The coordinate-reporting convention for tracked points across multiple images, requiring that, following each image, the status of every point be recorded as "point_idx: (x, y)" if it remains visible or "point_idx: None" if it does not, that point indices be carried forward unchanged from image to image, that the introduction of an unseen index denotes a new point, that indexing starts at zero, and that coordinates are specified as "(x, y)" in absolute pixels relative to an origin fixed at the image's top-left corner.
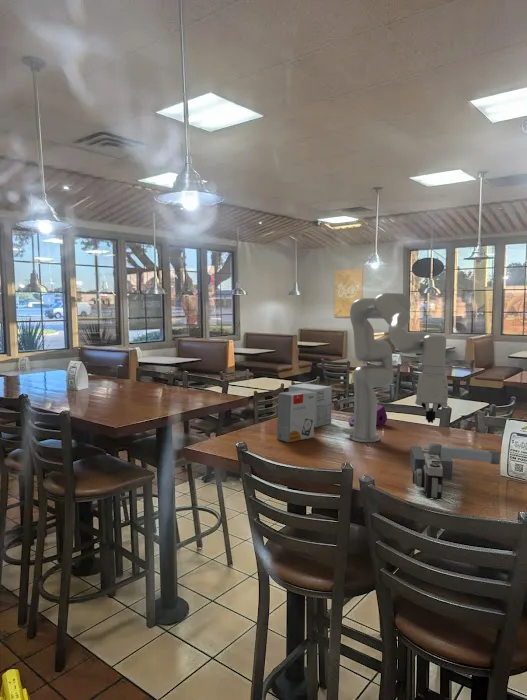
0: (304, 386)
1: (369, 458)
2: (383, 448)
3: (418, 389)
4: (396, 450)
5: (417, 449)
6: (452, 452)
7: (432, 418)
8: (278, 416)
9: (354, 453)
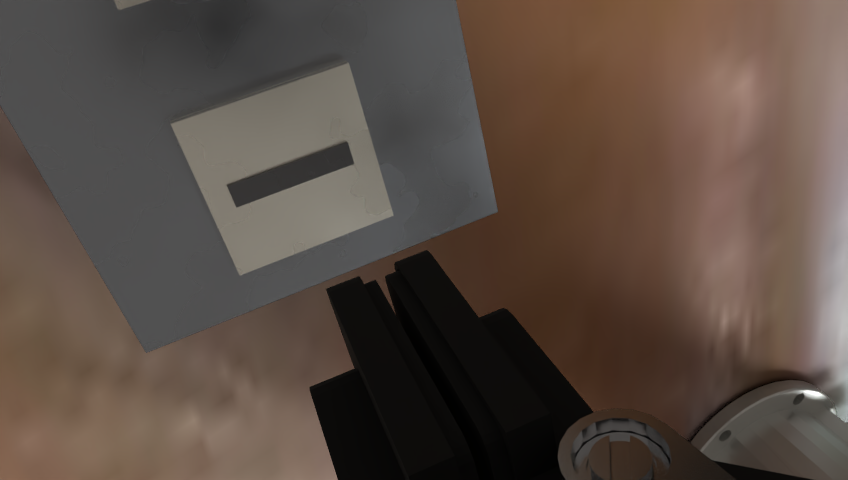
0: None
1: (729, 63)
2: (639, 356)
3: None
4: None
5: (413, 121)
6: None
7: (371, 333)
8: None
9: (820, 126)
